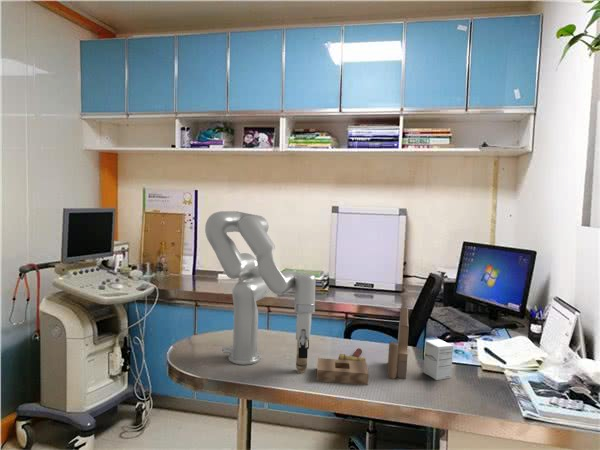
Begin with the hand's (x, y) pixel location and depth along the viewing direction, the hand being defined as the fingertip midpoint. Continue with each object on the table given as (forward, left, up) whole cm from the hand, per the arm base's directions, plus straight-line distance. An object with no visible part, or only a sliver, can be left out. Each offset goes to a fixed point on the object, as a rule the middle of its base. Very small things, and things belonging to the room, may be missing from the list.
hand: (303, 353), depth 154 cm
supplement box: (+50, +6, -7) cm, 51 cm away
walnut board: (+14, -1, -7) cm, 16 cm away
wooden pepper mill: (-1, 0, -7) cm, 7 cm away
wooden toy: (+35, +7, -7) cm, 37 cm away
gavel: (+20, +17, -8) cm, 27 cm away
